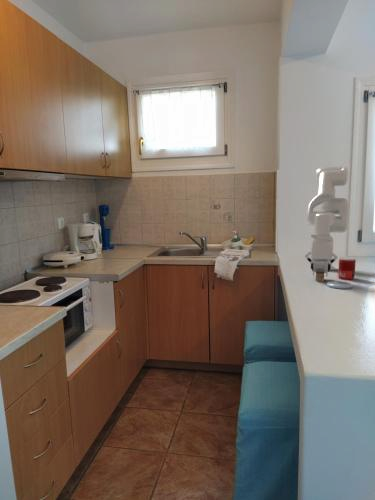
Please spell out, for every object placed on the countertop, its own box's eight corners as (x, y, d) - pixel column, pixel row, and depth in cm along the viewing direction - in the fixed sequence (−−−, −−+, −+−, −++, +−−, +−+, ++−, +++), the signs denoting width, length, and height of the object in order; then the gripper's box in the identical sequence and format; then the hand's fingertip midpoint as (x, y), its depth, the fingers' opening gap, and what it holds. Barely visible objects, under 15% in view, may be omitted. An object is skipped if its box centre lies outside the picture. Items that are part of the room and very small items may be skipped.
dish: (324, 283, 184) (324, 281, 184) (346, 283, 184) (346, 281, 183) (330, 288, 174) (330, 286, 173) (354, 289, 173) (354, 286, 172)
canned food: (355, 280, 190) (357, 259, 188) (339, 279, 192) (340, 259, 190) (352, 277, 197) (353, 257, 196) (336, 276, 199) (337, 256, 197)
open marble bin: (313, 272, 196) (313, 258, 195) (327, 272, 194) (327, 258, 192) (313, 275, 190) (313, 261, 188) (327, 276, 187) (328, 261, 186)
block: (315, 279, 193) (316, 272, 193) (323, 279, 192) (324, 272, 192) (315, 281, 190) (316, 273, 189) (323, 281, 188) (324, 274, 188)
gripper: (303, 238, 187) (302, 271, 191) (340, 239, 181) (338, 273, 185) (304, 235, 194) (303, 268, 198) (339, 236, 188) (338, 270, 192)
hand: (320, 270), depth 191 cm, fingers closed on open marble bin, 7 cm apart
